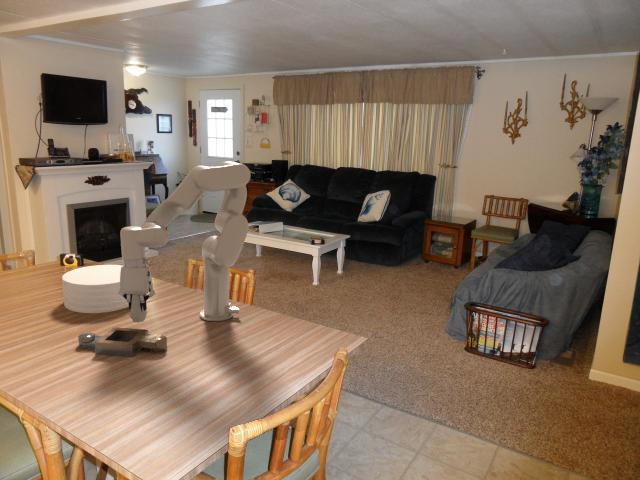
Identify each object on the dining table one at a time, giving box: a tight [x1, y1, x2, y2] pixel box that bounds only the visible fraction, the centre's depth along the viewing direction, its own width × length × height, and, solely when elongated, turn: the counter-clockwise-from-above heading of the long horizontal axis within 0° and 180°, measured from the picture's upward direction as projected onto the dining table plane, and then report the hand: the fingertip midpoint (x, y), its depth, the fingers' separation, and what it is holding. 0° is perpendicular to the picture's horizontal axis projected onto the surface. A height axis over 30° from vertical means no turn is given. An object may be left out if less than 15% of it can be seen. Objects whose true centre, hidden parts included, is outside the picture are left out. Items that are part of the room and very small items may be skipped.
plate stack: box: [61, 264, 129, 314], centre depth 193 cm, size 28×28×12 cm
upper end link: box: [95, 326, 168, 354], centre depth 153 cm, size 20×12×4 cm, turn 86°
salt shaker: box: [129, 294, 148, 323], centre depth 166 cm, size 6×6×13 cm
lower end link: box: [77, 332, 143, 358], centre depth 154 cm, size 20×12×3 cm, turn 86°
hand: (138, 311), depth 167 cm, fingers closed on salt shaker, 3 cm apart
